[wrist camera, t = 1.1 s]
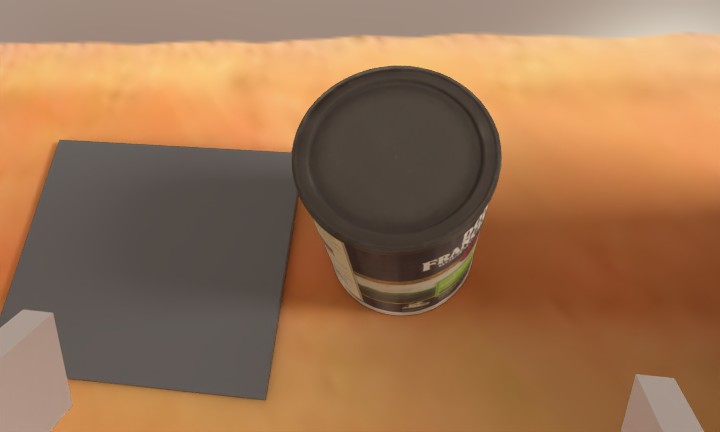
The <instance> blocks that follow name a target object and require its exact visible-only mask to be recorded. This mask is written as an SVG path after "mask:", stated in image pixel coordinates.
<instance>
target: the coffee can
mask: <svg viewBox="0 0 720 432" xmlns="http://www.w3.org/2000/svg"><path fill="white" fill-rule="evenodd" d="M500 169H501V145H500V139H499V134H498V131H497V129H496V126H495V123H494V121H493V119H492V117H491V116H490V114H489V112H488V111H487V109H486V108H485V106H484V105H483V104H482V102H481V101H480V100H479V99H478V98H477V97H476V96H475V95H474V94H473V93H472V92H471V91H470V90H468V89H467V88H466V87H464V86H463V85H461V84H460V83H458V82H457V81H455V80H454V79H452V78H450V77H448V76H445V75H443V74H441V73H438V72H435V71H432V70H428V69H424V68H419V67H412V66H387V67H379V68H374V69H369V70H366V71H363V72H360V73H357V74H355V75H352V76H350V77H348V78H346V79H344V80H342V81H340V82H339V83H337V84H335V85H334V86H332V87H331V88H330V89H328V90H327V91H326V92H325V93H323V94H322V95H321V97H319V98H318V99H317V100H316V101H315V102H314V104H313V105H312V106H311V107H310V108H309V110H308V111H307V113H306V114H305V116H304V117H303V119H302V121H301V123H300V125H299V127H298V130H297V132H296V135H295V139H294V143H293V148H292V173H293V179H294V183H295V186H296V189H297V192H298V194H299V196H300V198H301V200H302V202H303V204H304V206H305V208H306V209H307V211H308V212H309V214H310V215H311V216H312V218H313V220H314V223H315V225H316V228H317V230H318V232H319V234H320V236H321V238H322V240H323V243H324V245H325V247H326V249H327V252H328V254H329V257H330V259H331V261H332V264H333V268H334V270H335V273H336V275H337V277H338V279H339V281H340V282H341V284H342V285H343V287H344V288H345V289H346V291H347V292H348V293H349V294H350V295H351V296H352V297H353V298H355V299H356V300H357V301H358V302H360V303H361V304H362V305H364V306H366V307H368V308H370V309H372V310H375V311H377V312H381V313H384V314H389V315H401V316H405V315H415V314H420V313H424V312H426V311H429V310H432V309H434V308H436V307H438V306H440V305H441V304H443V303H444V302H446V301H447V300H448V299H449V298H451V297H452V296H453V295H454V294H455V293H456V292H457V291H458V289H459V288H460V287H461V286H462V285H463V283H464V281H465V279H466V278H467V276H468V274H469V271H470V268H471V265H472V261H473V254H474V251H475V247H476V243H477V240H478V237H479V233H480V230H481V227H482V224H483V221H484V217H485V214H486V211H487V207H488V203H489V201H490V200H491V197H492V195H493V193H494V191H495V188H496V185H497V182H498V178H499V174H500Z"/></svg>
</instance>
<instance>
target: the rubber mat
mask: <svg viewBox="0 0 720 432" xmlns="http://www.w3.org/2000/svg"><path fill="white" fill-rule="evenodd" d="M297 201H298V192H297V189H296V186H295V183H294V179H293V173H292V153H288V152H270V151H252V150H234V149H216V148H198V147H180V146H162V145H144V144H126V143H108V142H90V141H72V140H59V143H58V146H57V149H56V152H55V155H54V158H53V161H52V164H51V167H50V170H49V173H48V176H47V179H46V182H45V185H44V188H43V191H42V194H41V197H40V200H39V203H38V206H37V209H36V212H35V215H34V218H33V221H32V224H31V227H30V230H29V233H28V236H27V239H26V242H25V245H24V248H23V251H22V254H21V257H20V260H19V263H18V266H17V269H16V272H15V275H14V278H13V281H12V284H11V287H10V290H9V293H8V296H7V299H6V302H5V305H4V308H3V311H2V314H1V317H0V328H1V327H2V326H3V325H4V324H6V323H7V322H8V321H9V320H11V319H12V318H13V317H14V316H16V315H17V314H18V313H19V312H20V311H22V310H33V311H42V312H52V313H53V314H54V319H55V324H56V329H57V333H58V338H59V343H60V347H61V352H62V357H63V362H64V366H65V371H66V376H67V378H68V379H77V380H86V381H95V382H105V383H114V384H123V385H132V386H141V387H150V388H159V389H168V390H178V391H187V392H196V393H205V394H214V395H223V396H232V397H241V398H251V399H260V400H266V395H267V389H268V383H269V376H270V370H271V364H272V357H273V351H274V345H275V339H276V332H277V326H278V320H279V314H280V307H281V301H282V295H283V289H284V282H285V276H286V270H287V263H288V257H289V251H290V245H291V238H292V232H293V226H294V220H295V213H296V207H297Z"/></svg>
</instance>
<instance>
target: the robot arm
mask: <svg viewBox="0 0 720 432" xmlns="http://www.w3.org/2000/svg"><path fill="white" fill-rule="evenodd" d="M72 405H73V404H72V400H71V395H70V390H69V385H68V381H67V376H66V371H65V366H64V362H63V357H62V352H61V347H60V343H59V338H58V333H57V329H56V324H55V319H54V314H53V313H52V312H42V311H33V310H22V311H20V312H19V313H18V314H17V315H16V316H14V317H13V318H12V319H11V320H9V321H8V322H7V323H6V324H4V325H3V326H2V327H1V328H0V432H50V431H51V430H52V429H53V428H54V426H55V425H56V424H57V423H58V422H59V421H60V419H61V418H62V417H63V416H64V415H65V414H66V412H67V411H68V410H69V409H70V408H71V407H72ZM621 432H704V430H703V429H702V427H701V425H700V423H699V421H698V420H697V418H696V416H695V414H694V413H693V411H692V409H691V407H690V405H689V404H688V402H687V400H686V398H685V396H684V395H683V393H682V391H681V389H680V387H679V386H678V384H677V382H676V380H675V379H674V378H668V377H659V376H650V375H640V374H636V375H635V379H634V383H633V387H632V390H631V394H630V398H629V402H628V405H627V409H626V413H625V417H624V420H623V424H622V428H621Z"/></svg>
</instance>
